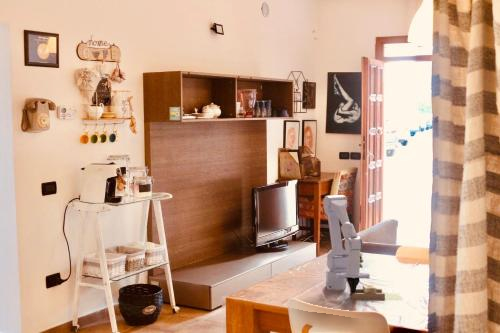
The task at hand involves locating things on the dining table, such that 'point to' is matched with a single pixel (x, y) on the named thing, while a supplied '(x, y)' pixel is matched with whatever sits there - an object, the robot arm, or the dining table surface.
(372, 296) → the chute
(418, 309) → the dining table surface
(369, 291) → the birch block
